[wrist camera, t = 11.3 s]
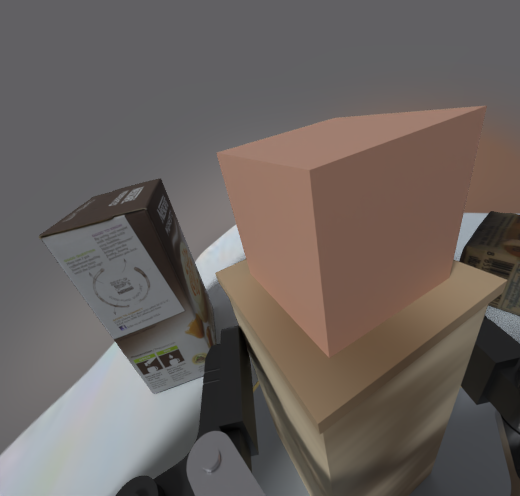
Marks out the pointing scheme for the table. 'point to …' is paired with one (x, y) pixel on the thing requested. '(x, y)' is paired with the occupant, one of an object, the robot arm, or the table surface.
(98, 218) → the coffee box
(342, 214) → the cube
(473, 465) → the dock
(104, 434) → the table surface
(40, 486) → the table surface
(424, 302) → the wooden block
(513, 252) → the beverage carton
